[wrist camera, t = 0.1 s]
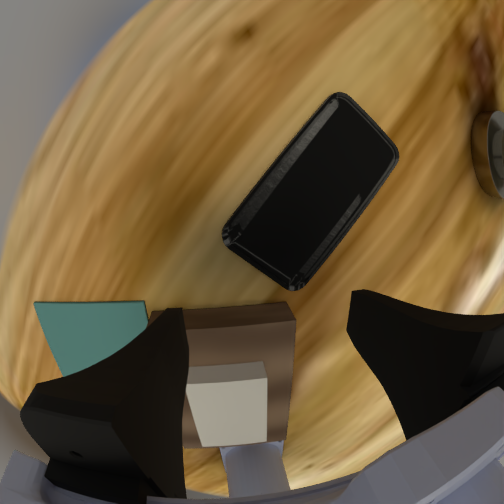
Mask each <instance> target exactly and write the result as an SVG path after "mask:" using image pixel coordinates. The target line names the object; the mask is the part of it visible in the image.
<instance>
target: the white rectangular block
mask: <svg viewBox="0 0 504 504" xmlns="http://www.w3.org/2000/svg"><path fill="white" fill-rule="evenodd" d="M186 394H187V397H188V401H189V405H190V408H191V412H192V415H193V418H194V422H195V425H196V428H197V432H198V435H199V438H200V441H201V444H202V447H212V446H229V445H241V444H251V443H259V442H266V441H267V375H266V371H265V368H264V364H263V361H260V362H250V363H240V364H229V365H215V366H197V367H189V372H188V379H187V386H186Z"/></svg>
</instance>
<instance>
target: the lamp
mask: <svg viewBox="0 0 504 504" xmlns="http://www.w3.org/2000/svg"><path fill="white" fill-rule="evenodd" d="M471 150H472V159H473V164H474V169H475V172H476V176H477V179H478V181H479V183H480V185H481V187H482V189H483V190H484V192H485V193H486V194H488V195H489V196H492V197H496V198H500V199H504V113H503V112H501V111H483V112H480V113H479V114H478V115H477V116H476V118H475V120H474V122H473V126H472V133H471Z"/></svg>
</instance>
